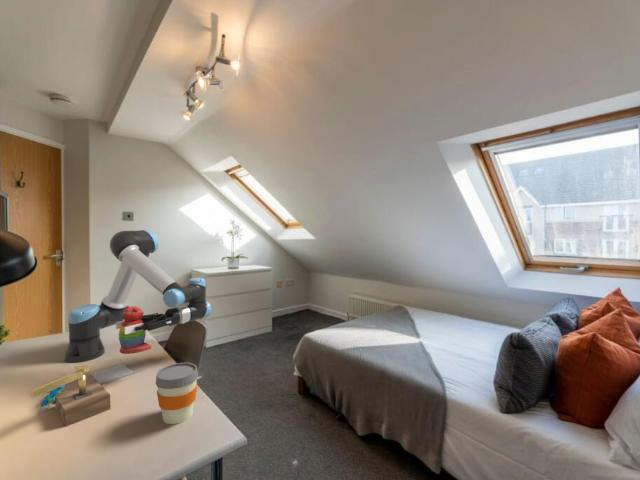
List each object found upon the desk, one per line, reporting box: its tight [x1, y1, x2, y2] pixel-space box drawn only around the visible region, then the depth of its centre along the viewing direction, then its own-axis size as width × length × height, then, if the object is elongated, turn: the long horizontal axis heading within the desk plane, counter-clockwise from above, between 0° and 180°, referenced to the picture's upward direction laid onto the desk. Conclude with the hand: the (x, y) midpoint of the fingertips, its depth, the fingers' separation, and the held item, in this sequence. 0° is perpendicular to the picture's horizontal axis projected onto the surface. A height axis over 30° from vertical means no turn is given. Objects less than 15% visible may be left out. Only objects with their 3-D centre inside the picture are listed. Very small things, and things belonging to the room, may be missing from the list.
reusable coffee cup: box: [155, 362, 199, 425], centre depth 102 cm, size 13×12×15 cm
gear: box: [40, 384, 66, 408], centre depth 110 cm, size 11×6×10 cm
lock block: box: [54, 381, 112, 427], centre depth 105 cm, size 14×12×5 cm
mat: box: [90, 363, 135, 385], centre depth 131 cm, size 12×12×1 cm
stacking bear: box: [118, 305, 152, 355], centre depth 127 cm, size 11×10×18 cm
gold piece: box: [29, 364, 90, 399], centre depth 99 cm, size 15×5×9 cm, turn 160°
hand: (120, 328), depth 123 cm, fingers closed on stacking bear, 9 cm apart
